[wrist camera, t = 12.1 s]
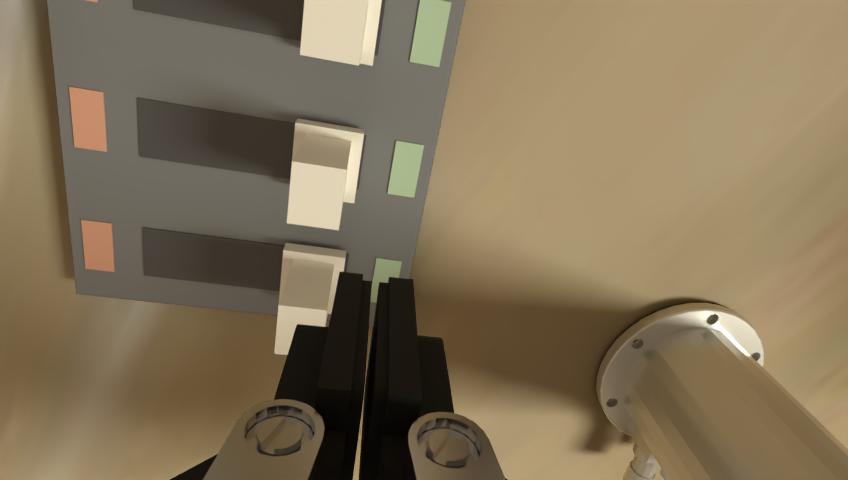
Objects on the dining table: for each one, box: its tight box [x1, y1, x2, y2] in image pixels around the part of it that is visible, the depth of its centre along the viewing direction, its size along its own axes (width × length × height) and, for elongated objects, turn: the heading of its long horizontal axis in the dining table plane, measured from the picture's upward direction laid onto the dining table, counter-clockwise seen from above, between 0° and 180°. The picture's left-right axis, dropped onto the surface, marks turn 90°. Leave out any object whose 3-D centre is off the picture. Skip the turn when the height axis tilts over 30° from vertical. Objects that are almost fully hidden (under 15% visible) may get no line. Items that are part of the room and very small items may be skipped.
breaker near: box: [300, 0, 382, 66], centre depth 23 cm, size 4×4×6 cm
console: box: [47, 0, 466, 326], centre depth 29 cm, size 22×20×2 cm
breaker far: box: [274, 243, 346, 355], centre depth 29 cm, size 4×4×6 cm
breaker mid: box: [287, 119, 364, 230], centre depth 26 cm, size 4×4×6 cm
